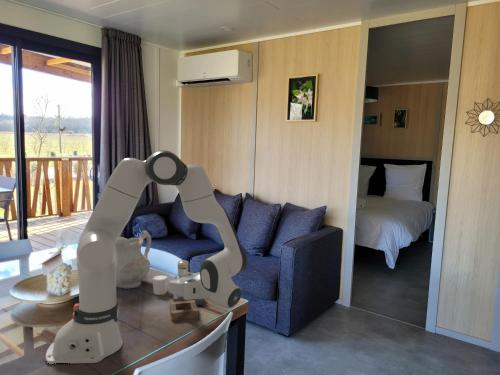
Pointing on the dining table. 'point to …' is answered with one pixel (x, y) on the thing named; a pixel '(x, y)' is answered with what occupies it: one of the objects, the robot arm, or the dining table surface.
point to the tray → (197, 301)
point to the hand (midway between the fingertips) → (181, 276)
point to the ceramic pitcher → (131, 261)
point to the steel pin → (182, 270)
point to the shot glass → (160, 284)
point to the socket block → (183, 310)
